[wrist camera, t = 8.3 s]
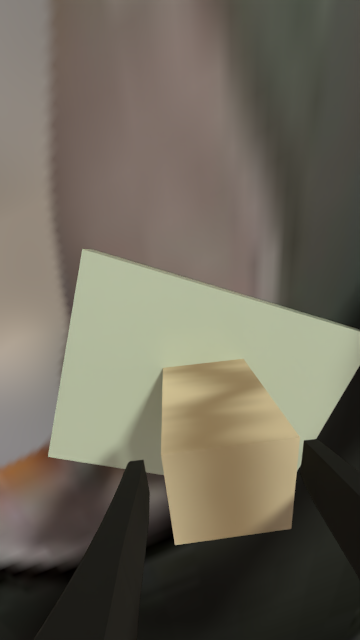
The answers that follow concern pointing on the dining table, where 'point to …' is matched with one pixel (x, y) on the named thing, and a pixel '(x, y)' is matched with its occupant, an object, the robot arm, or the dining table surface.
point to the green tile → (182, 358)
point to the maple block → (225, 453)
